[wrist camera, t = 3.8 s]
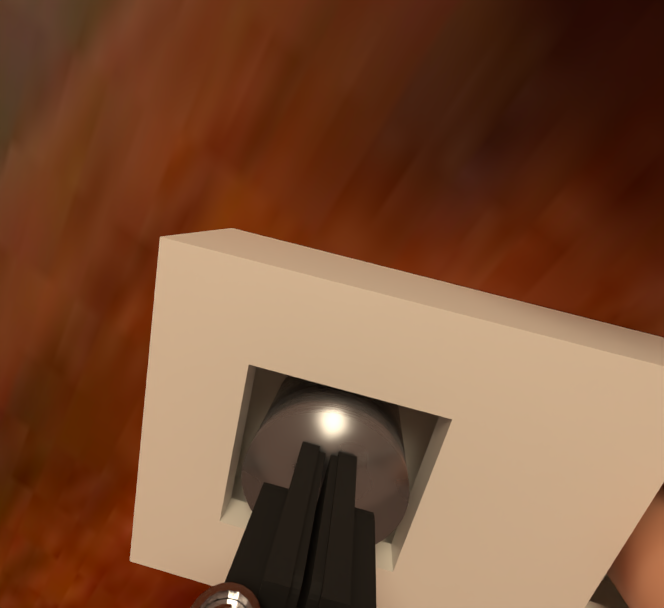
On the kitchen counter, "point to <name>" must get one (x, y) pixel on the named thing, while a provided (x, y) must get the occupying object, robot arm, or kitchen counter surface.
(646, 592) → the light brown rounded piece
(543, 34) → the kitchen counter surface
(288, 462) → the charcoal button
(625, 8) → the kitchen counter surface
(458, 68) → the kitchen counter surface
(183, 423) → the button console
